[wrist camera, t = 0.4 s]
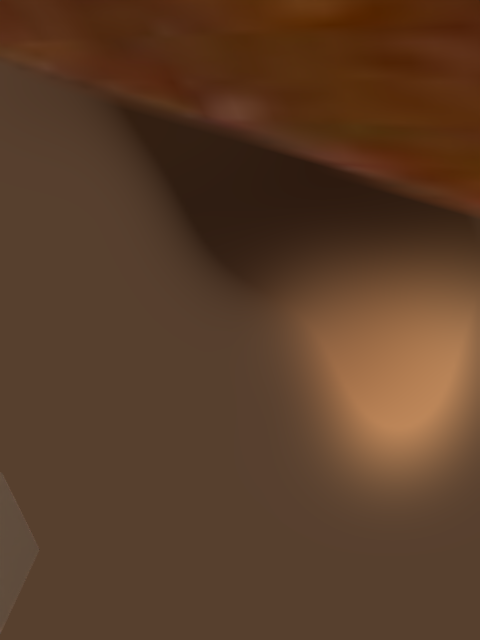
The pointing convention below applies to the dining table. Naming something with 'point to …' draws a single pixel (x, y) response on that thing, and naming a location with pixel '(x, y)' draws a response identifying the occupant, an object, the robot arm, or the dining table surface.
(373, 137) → the dining table surface
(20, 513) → the robot arm
